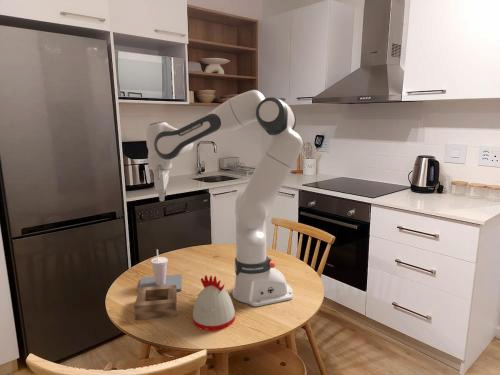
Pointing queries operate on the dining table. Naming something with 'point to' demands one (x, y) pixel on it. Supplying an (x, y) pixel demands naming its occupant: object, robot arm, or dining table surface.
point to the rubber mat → (169, 281)
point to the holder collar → (156, 302)
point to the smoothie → (159, 269)
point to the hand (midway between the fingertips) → (163, 198)
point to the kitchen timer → (213, 306)
